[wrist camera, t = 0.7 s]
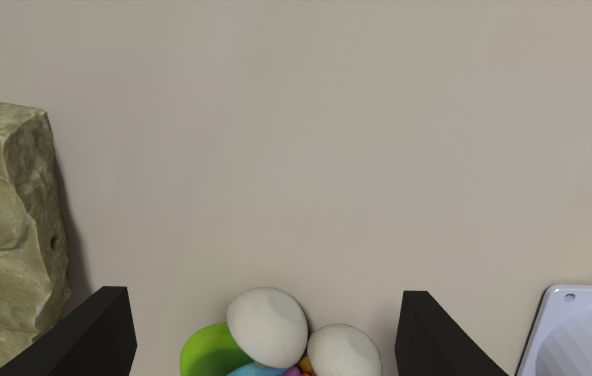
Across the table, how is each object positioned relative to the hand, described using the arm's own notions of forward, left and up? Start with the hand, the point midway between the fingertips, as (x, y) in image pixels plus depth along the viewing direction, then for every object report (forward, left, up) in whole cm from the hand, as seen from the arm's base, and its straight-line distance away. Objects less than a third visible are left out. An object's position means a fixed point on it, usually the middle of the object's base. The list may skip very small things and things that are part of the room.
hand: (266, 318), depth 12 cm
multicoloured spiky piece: (0, +10, -9) cm, 13 cm away
